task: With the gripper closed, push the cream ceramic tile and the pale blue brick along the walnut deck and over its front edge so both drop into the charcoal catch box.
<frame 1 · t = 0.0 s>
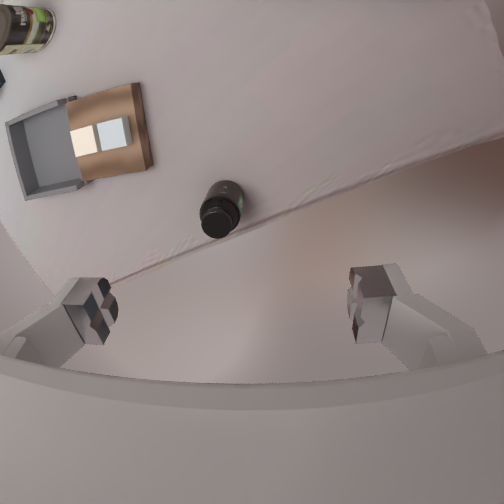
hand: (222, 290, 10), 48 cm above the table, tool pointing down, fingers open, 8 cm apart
cream tile: (90, 138, 50), point 4 cm above the table, touching walnut deck
coffee can: (38, 30, 41), on the table
walnut deck: (113, 130, 53), on the table
catch box: (55, 145, 55), on the table
supplement bottle: (226, 196, 60), on the table
pale blue brick: (117, 131, 50), point 4 cm above the table, touching walnut deck
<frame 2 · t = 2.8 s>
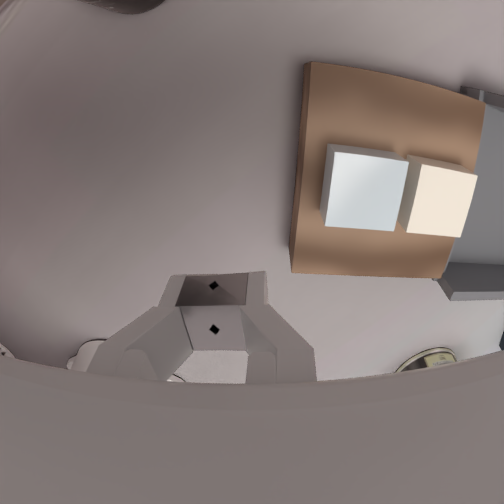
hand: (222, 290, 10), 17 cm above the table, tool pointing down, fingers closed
decorative candle: (3, 354, 43), on the table
cream tile: (428, 190, 21), point 4 cm above the table, touching walnut deck
coffee can: (424, 370, 39), on the table
walnut deck: (378, 170, 25), on the table
catch box: (502, 192, 25), on the table
pale blue brick: (357, 181, 21), point 4 cm above the table, touching walnut deck
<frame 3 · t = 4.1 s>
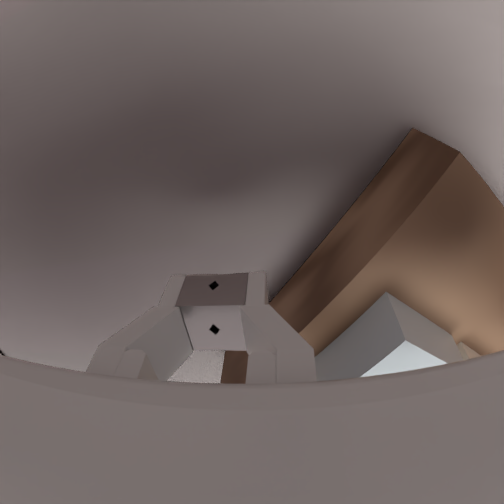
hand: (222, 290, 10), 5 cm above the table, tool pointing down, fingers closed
walnut deck: (398, 316, 17), on the table
pale blue brick: (382, 352, 13), point 4 cm above the table, touching walnut deck
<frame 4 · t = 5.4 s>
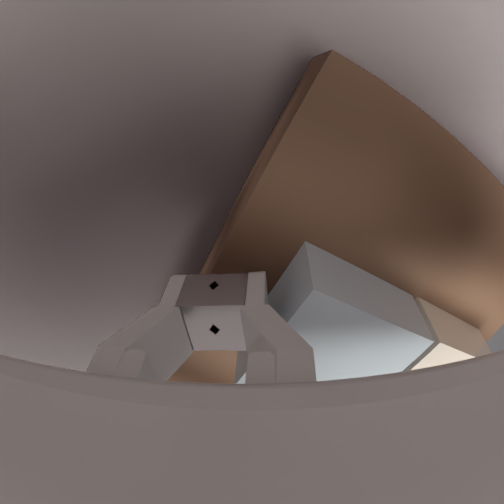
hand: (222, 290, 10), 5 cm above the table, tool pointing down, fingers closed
cream tile: (416, 351, 13), point 4 cm above the table, touching walnut deck
walnut deck: (352, 278, 16), on the table
catch box: (491, 346, 19), on the table
pale blue brick: (325, 318, 12), point 4 cm above the table, touching gripper
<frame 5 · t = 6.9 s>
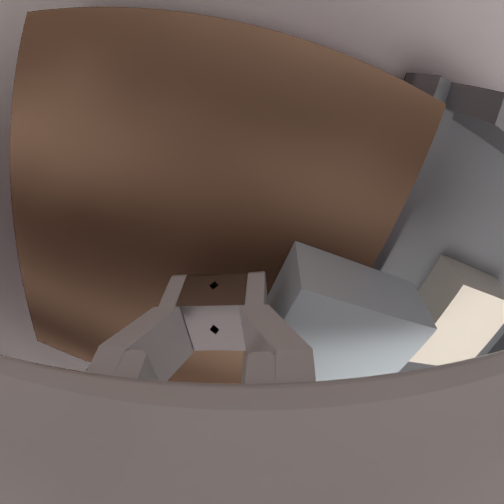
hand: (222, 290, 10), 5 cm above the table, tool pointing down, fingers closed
cream tile: (465, 333, 13), point 3 cm above the table, tilted 180°, touching catch box
walnut deck: (189, 211, 14), on the table
catch box: (451, 287, 16), on the table
pale blue brick: (327, 314, 12), point 4 cm above the table, touching gripper
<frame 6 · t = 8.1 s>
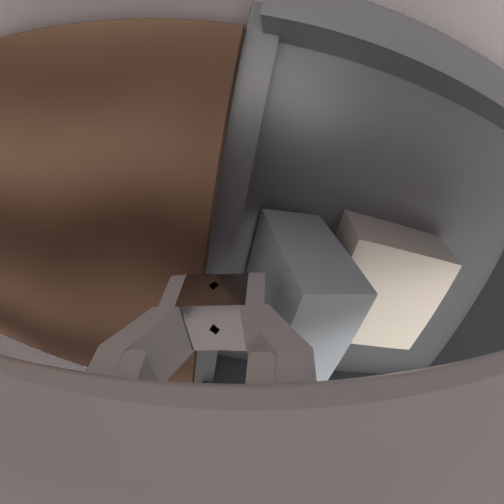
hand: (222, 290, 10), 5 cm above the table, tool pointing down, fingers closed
cream tile: (389, 304, 12), point 3 cm above the table, tilted 180°, touching catch box
walnut deck: (83, 197, 14), on the table
catch box: (381, 252, 15), on the table
pale blue brick: (261, 301, 12), point 4 cm above the table, tilted 104°, touching catch box
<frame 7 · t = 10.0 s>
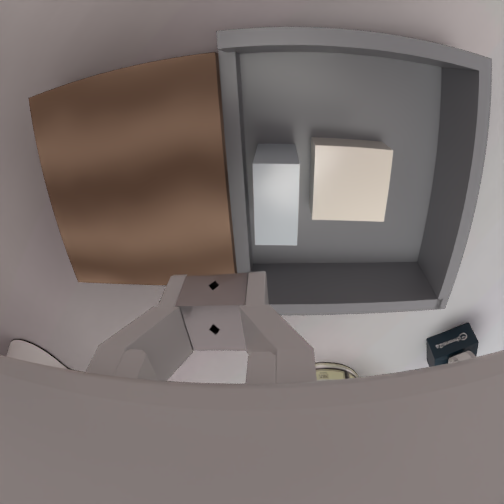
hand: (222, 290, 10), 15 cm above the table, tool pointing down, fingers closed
watch: (446, 340, 31), on the table
cream tile: (352, 185, 19), point 3 cm above the table, tilted 180°, touching catch box
coffee can: (318, 386, 36), on the table
walnut deck: (145, 170, 23), on the table
catch box: (344, 162, 22), on the table
pale blue brick: (256, 190, 20), point 3 cm above the table, tilted 90°, touching catch box
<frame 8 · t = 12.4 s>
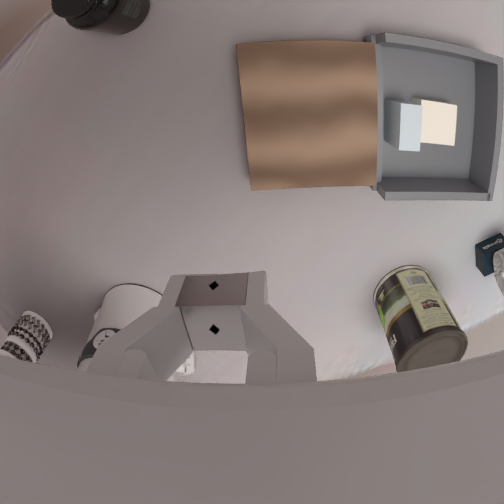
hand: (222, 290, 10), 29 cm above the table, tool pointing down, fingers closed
watch: (487, 248, 41), on the table
decorative candle: (37, 324, 56), on the table
cream tile: (438, 123, 29), point 3 cm above the table, tilted 180°, touching catch box
coffee can: (403, 291, 46), on the table
walnut deck: (308, 110, 33), on the table
catch box: (426, 114, 32), on the table
supplement bottle: (125, 9, 27), on the table
pale blue brick: (391, 122, 30), point 3 cm above the table, tilted 90°, touching catch box
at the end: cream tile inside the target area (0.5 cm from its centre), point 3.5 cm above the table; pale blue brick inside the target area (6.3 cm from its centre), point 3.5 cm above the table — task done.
